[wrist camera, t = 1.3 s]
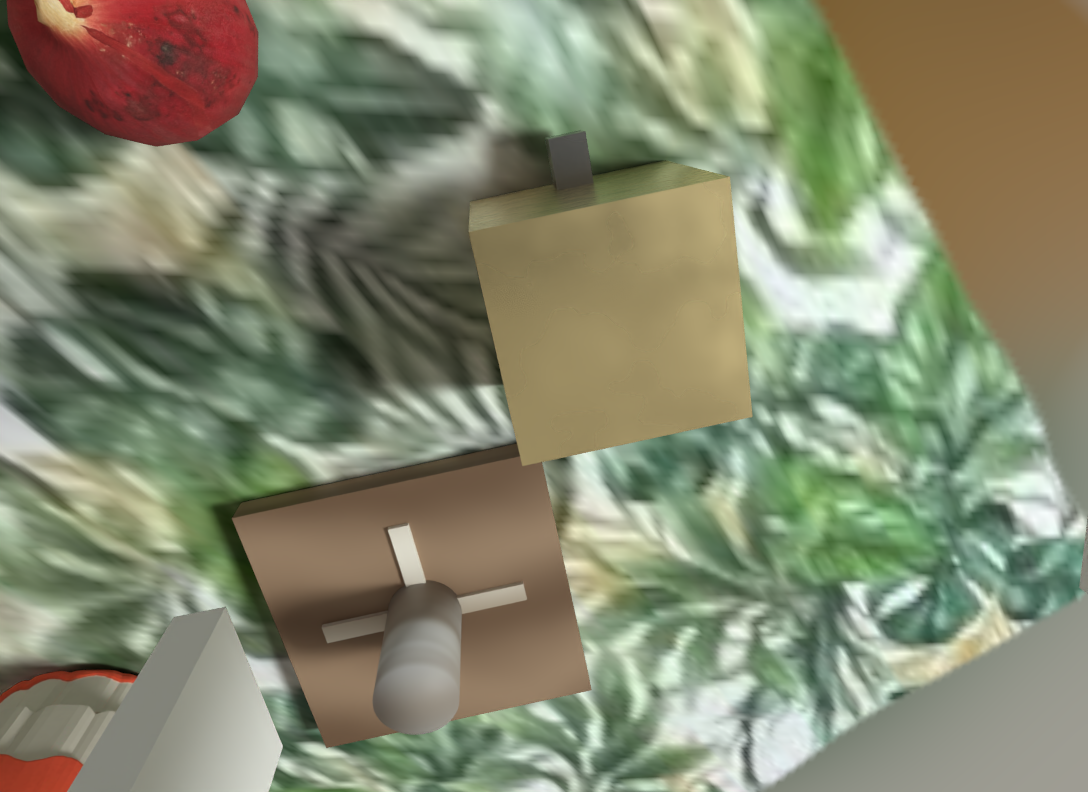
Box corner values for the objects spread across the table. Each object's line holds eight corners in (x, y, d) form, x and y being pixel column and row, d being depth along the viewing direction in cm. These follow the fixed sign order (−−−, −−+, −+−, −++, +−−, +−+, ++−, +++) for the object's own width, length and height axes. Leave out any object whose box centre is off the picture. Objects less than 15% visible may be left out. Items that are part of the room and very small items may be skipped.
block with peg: (459, 154, 25) (453, 169, 18) (659, 112, 25) (723, 112, 19) (520, 421, 29) (533, 511, 22) (693, 384, 29) (756, 463, 22)
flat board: (241, 502, 29) (182, 599, 23) (536, 439, 29) (552, 519, 23) (331, 726, 33) (301, 854, 28) (587, 670, 34) (610, 786, 28)
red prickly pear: (317, 15, 23) (242, -31, 16) (238, 174, 25) (136, 201, 17) (137, -107, 22) (-42, -222, 14) (64, 71, 23) (-131, 52, 16)
